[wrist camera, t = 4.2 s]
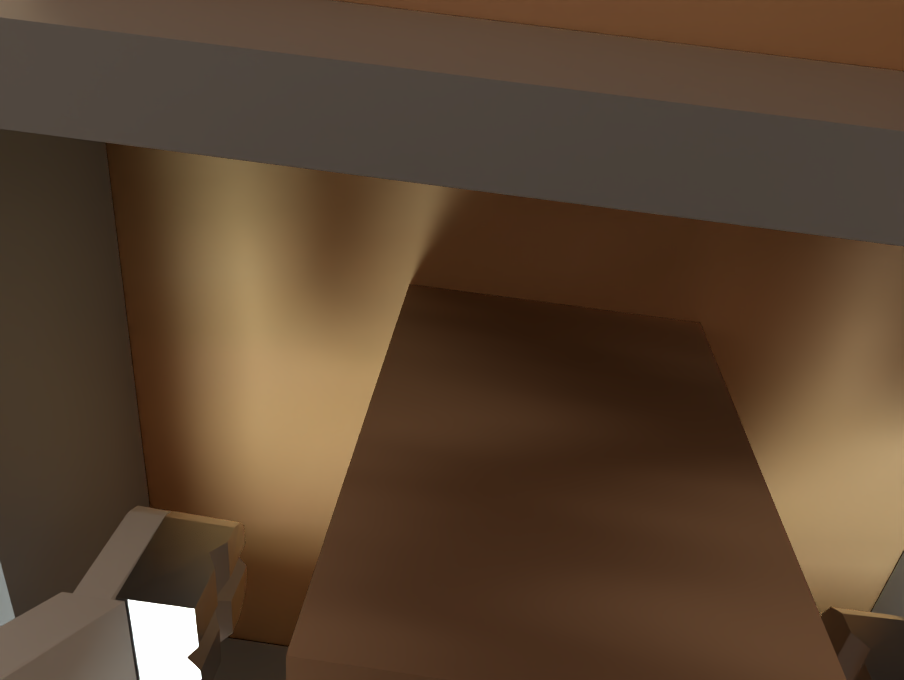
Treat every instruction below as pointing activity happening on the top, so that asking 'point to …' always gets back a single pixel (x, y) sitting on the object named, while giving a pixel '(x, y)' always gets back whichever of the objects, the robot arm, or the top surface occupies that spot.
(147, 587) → the robot arm
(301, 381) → the top surface
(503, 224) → the top surface
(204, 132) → the bin
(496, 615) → the walnut block
